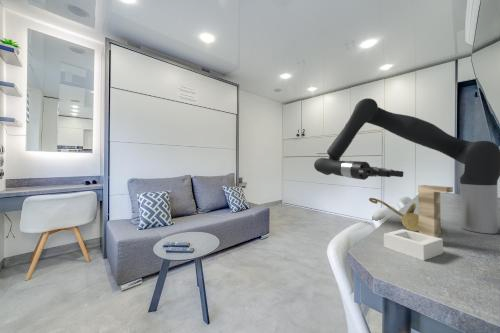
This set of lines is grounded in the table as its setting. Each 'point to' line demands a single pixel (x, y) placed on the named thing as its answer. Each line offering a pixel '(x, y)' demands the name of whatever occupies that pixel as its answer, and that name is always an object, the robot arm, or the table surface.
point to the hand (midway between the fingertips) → (396, 174)
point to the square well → (413, 244)
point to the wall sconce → (408, 219)
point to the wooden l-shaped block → (430, 209)
